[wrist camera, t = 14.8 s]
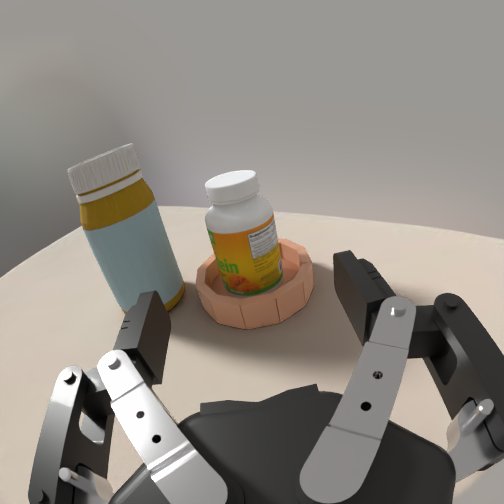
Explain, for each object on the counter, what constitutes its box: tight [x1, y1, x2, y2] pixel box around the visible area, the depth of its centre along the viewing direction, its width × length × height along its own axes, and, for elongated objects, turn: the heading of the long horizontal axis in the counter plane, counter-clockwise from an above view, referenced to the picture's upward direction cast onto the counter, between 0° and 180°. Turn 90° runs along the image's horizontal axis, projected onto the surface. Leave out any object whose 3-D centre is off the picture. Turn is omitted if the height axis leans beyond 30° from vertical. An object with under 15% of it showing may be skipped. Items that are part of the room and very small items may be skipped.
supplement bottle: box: [205, 170, 283, 299], centre depth 23 cm, size 5×5×10 cm
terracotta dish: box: [195, 239, 314, 330], centre depth 26 cm, size 10×10×2 cm
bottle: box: [68, 143, 185, 314], centre depth 24 cm, size 7×7×15 cm
